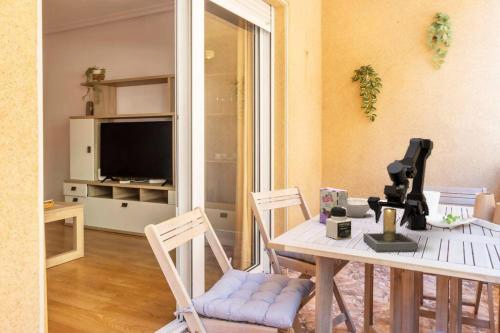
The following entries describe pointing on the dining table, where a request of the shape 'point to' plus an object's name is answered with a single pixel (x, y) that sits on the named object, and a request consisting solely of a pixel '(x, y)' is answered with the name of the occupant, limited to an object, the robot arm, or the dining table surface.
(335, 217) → the medicine bottle
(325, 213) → the candy box
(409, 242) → the tray
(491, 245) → the dining table surface
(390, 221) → the golden metal cylinder
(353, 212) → the bowl
